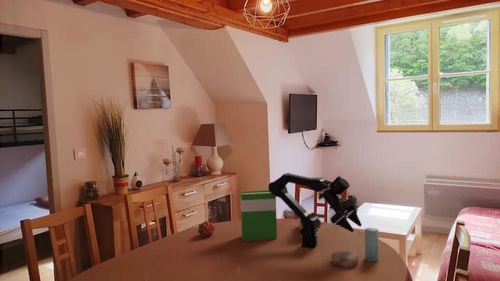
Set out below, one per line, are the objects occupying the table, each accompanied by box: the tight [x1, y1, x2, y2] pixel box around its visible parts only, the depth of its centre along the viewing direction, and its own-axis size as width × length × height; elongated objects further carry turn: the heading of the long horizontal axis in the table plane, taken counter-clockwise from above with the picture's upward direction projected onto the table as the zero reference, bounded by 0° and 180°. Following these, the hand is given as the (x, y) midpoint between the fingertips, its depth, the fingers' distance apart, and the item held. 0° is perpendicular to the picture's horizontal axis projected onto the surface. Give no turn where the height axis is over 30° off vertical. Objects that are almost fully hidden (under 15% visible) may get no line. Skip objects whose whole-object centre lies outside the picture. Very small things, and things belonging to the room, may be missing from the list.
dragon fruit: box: [197, 220, 216, 238], centre depth 201 cm, size 8×8×12 cm
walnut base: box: [331, 250, 359, 269], centre depth 159 cm, size 11×11×3 cm
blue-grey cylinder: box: [364, 227, 379, 262], centre depth 161 cm, size 6×6×13 cm
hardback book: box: [239, 189, 278, 242], centre depth 194 cm, size 18×7×24 cm, turn 96°
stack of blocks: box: [299, 208, 313, 239], centre depth 202 cm, size 21×6×12 cm, turn 170°
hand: (357, 228), depth 165 cm, fingers open, 9 cm apart
